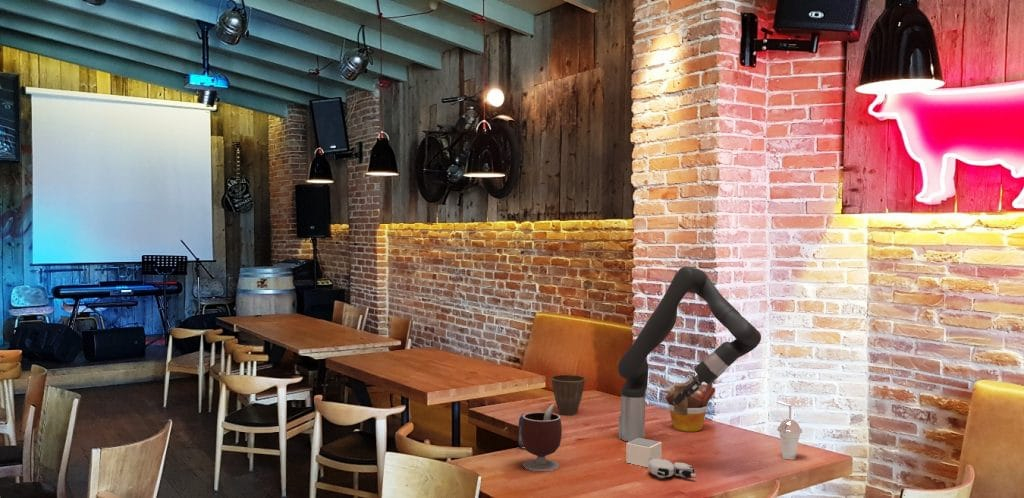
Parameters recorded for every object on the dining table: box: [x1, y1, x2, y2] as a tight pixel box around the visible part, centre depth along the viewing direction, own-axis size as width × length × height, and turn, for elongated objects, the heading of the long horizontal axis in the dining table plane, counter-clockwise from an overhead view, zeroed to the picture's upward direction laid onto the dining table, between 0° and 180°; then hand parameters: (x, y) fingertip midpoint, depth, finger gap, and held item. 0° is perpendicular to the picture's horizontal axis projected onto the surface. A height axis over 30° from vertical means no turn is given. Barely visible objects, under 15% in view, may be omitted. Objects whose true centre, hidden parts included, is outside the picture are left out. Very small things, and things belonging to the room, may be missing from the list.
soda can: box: [518, 413, 525, 449], centre depth 275 cm, size 7×7×12 cm
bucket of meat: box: [664, 383, 716, 433], centre depth 305 cm, size 20×16×20 cm
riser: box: [625, 438, 663, 468], centre depth 257 cm, size 9×9×7 cm
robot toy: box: [647, 458, 697, 479], centre depth 244 cm, size 12×4×15 cm
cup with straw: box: [775, 400, 803, 460], centre depth 266 cm, size 8×9×20 cm
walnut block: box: [673, 382, 688, 415], centre depth 254 cm, size 4×4×10 cm
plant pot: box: [551, 374, 586, 416], centre depth 329 cm, size 15×15×16 cm
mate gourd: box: [521, 403, 563, 472], centre depth 252 cm, size 16×14×20 cm
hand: (675, 401), depth 254 cm, fingers closed on walnut block, 4 cm apart
